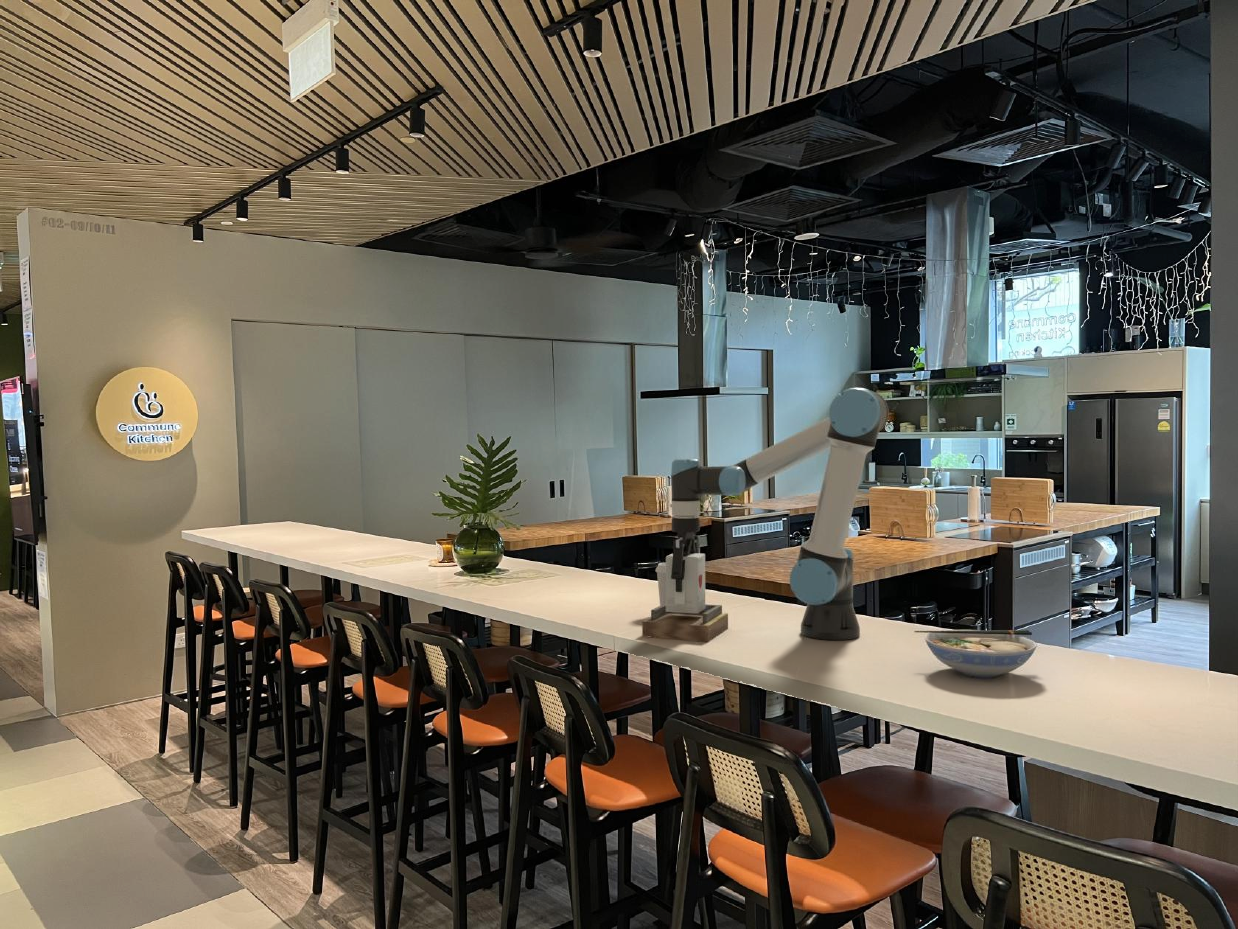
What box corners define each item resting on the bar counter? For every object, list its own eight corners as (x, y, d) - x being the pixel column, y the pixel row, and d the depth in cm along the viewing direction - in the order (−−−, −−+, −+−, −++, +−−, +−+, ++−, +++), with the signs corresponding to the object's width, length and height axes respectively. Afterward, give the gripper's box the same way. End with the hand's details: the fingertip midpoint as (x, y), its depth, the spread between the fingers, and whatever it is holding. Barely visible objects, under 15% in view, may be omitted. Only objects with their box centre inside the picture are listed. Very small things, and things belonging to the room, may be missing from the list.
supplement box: (698, 614, 234) (697, 557, 234) (665, 612, 237) (664, 556, 237) (706, 608, 243) (706, 553, 242) (674, 606, 245) (674, 552, 245)
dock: (728, 628, 245) (728, 604, 245) (708, 642, 228) (708, 616, 228) (665, 623, 252) (665, 600, 252) (642, 636, 235) (642, 611, 235)
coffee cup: (688, 612, 270) (688, 562, 269) (687, 618, 260) (687, 566, 260) (656, 611, 270) (656, 561, 270) (654, 617, 261) (654, 566, 261)
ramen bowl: (930, 686, 186) (930, 646, 186) (910, 659, 208) (910, 624, 208) (1058, 689, 182) (1058, 649, 182) (1023, 662, 205) (1023, 627, 205)
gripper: (685, 513, 251) (685, 593, 251) (658, 519, 231) (658, 607, 231) (711, 514, 248) (711, 595, 248) (685, 520, 228) (686, 608, 228)
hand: (686, 601), depth 240 cm, fingers closed on supplement box, 9 cm apart
